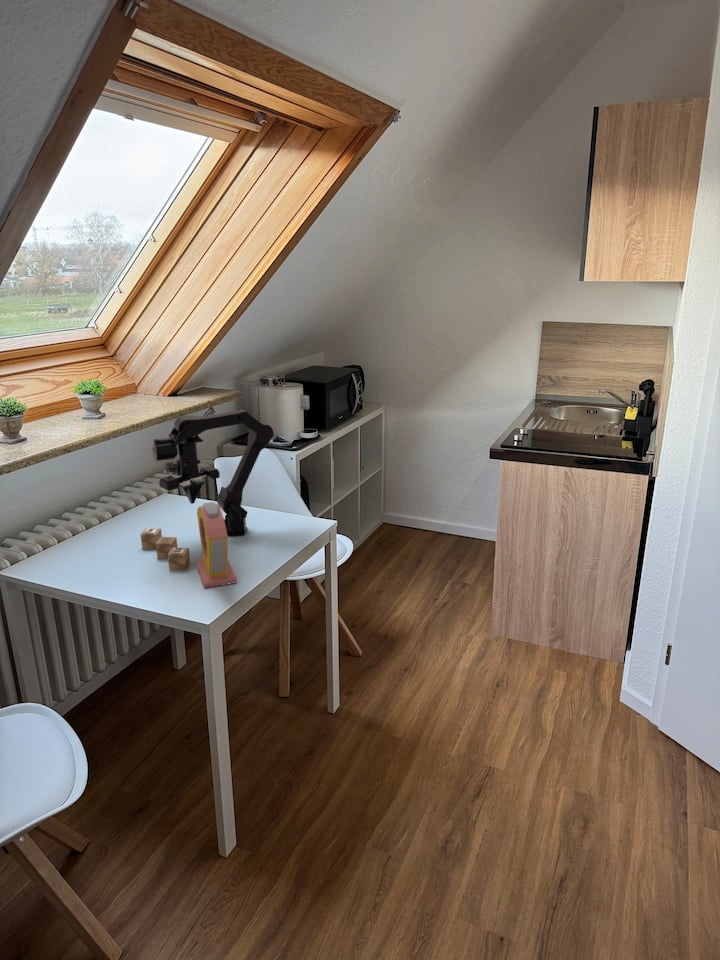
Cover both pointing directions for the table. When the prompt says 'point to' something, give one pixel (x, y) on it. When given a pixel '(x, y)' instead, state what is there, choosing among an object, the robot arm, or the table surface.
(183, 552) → the numbered block
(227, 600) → the table surface
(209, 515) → the pink yellow upright block
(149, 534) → the numbered block
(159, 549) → the plain block
